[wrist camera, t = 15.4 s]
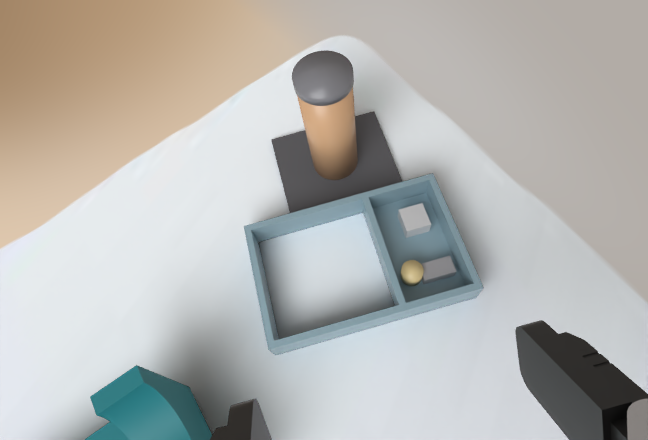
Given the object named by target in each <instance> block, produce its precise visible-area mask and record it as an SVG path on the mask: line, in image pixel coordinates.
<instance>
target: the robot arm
mask: <svg viewBox="0 0 648 440" xmlns="http://www.w3.org/2000/svg"><path fill="white" fill-rule="evenodd" d="M516 341H517V349H518V357H519V365H520V371H521V375H522V377H523V380H524V382H525V384H526V386H527V387H528V389H529V390H530V392H531V393H532V394H533V395H534V397H535V398H536V399H537V400H538V402H539V403H540V404H541V405H542V407H543V408H544V409H545V410H546V411H547V413H548V414H549V415H550V416H551V418H552V419H553V420H554V421H555V423H556V424H557V425H558V426H559V428H560V429H561V430H562V431H563V433H564V434H565V435H566V436H567V437H568V439H569V440H648V394H647V393H646V392H645V391H643V390H642V389H641V388H640V387H639V386H638V385H636V384H635V383H634V382H633V381H632V380H631V379H629V378H628V377H627V376H626V375H625V374H624V373H622V372H621V371H620V370H619V369H618V368H617V367H615V366H614V365H613V364H612V363H611V364H610V363H609V361H608V360H607V359H606V358H605V357H604V356H602V355H601V354H599V353H598V351H597V350H595V349H594V348H593V347H592V346H591V345H590V344H588V343H587V342H586V341H585V340H583V339H581V338H578V337H576V336H574V335H572V334H569V333H567V332H565V333H561V334H558V333H556V332H555V331H554V330H553V329H552V328H551V327H550V326H549V325H548V324H547V323H545V322H544V321H542V320H541V321H537V322H533V323H530V324H526V325H522V326H519V327H517V328H516ZM210 440H272V439H271V436H270V433H269V431H268V428H267V425H266V422H265V420H264V417H263V414H262V411H261V409H260V406H259V403H258V401H257V400H256V399H253V400H249V401H246V402H242V403H238V404H235V405H232V406H231V407H230V411H229V418H228V425H227V426H224V427H220V428H217V429H216V430H215V432H214V433H213V435H212V437H211V438H210Z"/></svg>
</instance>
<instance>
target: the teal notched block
mask: <svg viewBox="0 0 648 440" xmlns="http://www.w3.org/2000/svg"><path fill="white" fill-rule="evenodd" d="M90 398H91V401H92V403H93V406H94V409H95V412H96V415H97V416H101V417H103V418H105V419H107V420H109V421H110V422H109V423H108V424H106V425H105V426H104V427H102V428H101V429H99V430H98V431H96V432H95V433H93V434H92V435H91V436H89V437H88V438H86V439H85V440H210V438H211V437H212V434H211V432H210V430H209V428H208V425H207V423H206V421H205V419H204V417H203V415H202V413H201V411H200V409H199V407H198V404H197V402H196V400H195V398H194V396H193V394H192V392H191V390H190V388H189V387H188V386H185V385H183V384H181V383H178V382H176V381H173V380H171V379H169V378H166V377H164V376H161V375H159V374H156V373H154V372H152V371H149V370H147V369H144V368H142V367H140V366H137V365H136V366H135V367H133V368H132V369H130V370H129V371H127V372H126V373H125V374H123V375H122V376H120V377H119V378H117V379H116V380H114V381H113V382H111V383H110V384H108V385H107V386H105V387H104V388H102V389H101V390H100V391H98V392H97V393H95V394H94V395H92V396H91V397H90Z"/></svg>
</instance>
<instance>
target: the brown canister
mask: <svg viewBox="0 0 648 440" xmlns="http://www.w3.org/2000/svg"><path fill="white" fill-rule="evenodd" d="M292 80H293V85H294V89H295V92H296V94H297V96H298V101H299V105H300V109H301V114H302V118H303V122H304V126H305V131H306V135H307V139H308V144H309V148H310V152H311V156H312V161H313V165H314V168H315V170H316V172H317V173H318V174H319V175H320V176H321V177H323V178H325V179H329V180H340V179H343V178H346V177H347V176H349V175H350V174H352V172H353V171H354V170H355V168H356V166H357V162H358V157H357V142H356V127H355V112H354V96H353V82H354V78H353V67H352V65H351V63H350V61H349V60H348V59H347V58H346V57H345V56H343V55H342V54H340V53H337V52H334V51H318V52H314V53H311V54H309V55H307V56H305V57H303V58H302V59H301V60H300V61H299V62H298V63H297V64H296V66H295V67H294V69H293V72H292Z"/></svg>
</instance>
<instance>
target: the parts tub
mask: <svg viewBox="0 0 648 440" xmlns="http://www.w3.org/2000/svg"><path fill="white" fill-rule="evenodd" d="M360 213H363V214H364V217H365V220H366V222H367V225H368V228H369V231H370V234H371V237H372V240H373V243H374V246H375V249H376V252H377V255H378V258H379V261H380V263H381V266H382V269H383V272H384V275H385V278H386V281H387V284H388V287H389V290H390V293H391V296H392V299H393V302H394V305H395V306H394V307H390V308H387V309H383V310H380V311H376V312H373V313H369V314H366V315H362V316H359V317H355V318H352V319H348V320H345V321H341V322H338V323H334V324H331V325H327V326H324V327H320V328H317V329H313V330H310V331H306V332H303V333H299V334H296V335H293V336H289V337H286V338H282V339H279V337H278V333H277V328H276V323H275V318H274V314H273V309H272V304H271V300H270V295H269V290H268V285H267V281H266V276H265V271H264V267H263V262H262V257H261V252H260V248H259V243H258V242H260V241H264V240H268V239H271V238H275V237H278V236H282V235H285V234H289V233H292V232H296V231H299V230H303V229H307V228H310V227H314V226H317V225H321V224H324V223H328V222H331V221H335V220H338V219H342V218H346V217H349V216H353V215H356V214H360ZM244 230H245V235H246V240H247V245H248V250H249V255H250V260H251V265H252V270H253V275H254V280H255V285H256V290H257V295H258V300H259V305H260V310H261V315H262V320H263V325H264V330H265V335H266V340H267V345H268V350H269V351H271V352H272V353H273V354H274V355H279V354H282V353H285V352H289V351H292V350H296V349H299V348H303V347H306V346H310V345H313V344H317V343H320V342H324V341H327V340H331V339H334V338H338V337H341V336H345V335H348V334H351V333H355V332H358V331H362V330H365V329H369V328H372V327H376V326H379V325H383V324H386V323H390V322H393V321H397V320H400V319H404V318H407V317H410V316H414V315H417V314H421V313H424V312H428V311H431V310H435V309H438V308H442V307H445V306H449V305H452V304H456V303H459V302H463V301H466V300H470V299H473V298H476V297H477V296H478V295H479V293H480V292H481V291H482V289H483V285H482V283H481V281H480V279H479V276H478V274H477V272H476V270H475V267H474V265H473V263H472V261H471V258H470V256H469V254H468V252H467V249H466V247H465V245H464V243H463V240H462V238H461V236H460V233H459V231H458V229H457V227H456V224H455V222H454V220H453V218H452V215H451V213H450V211H449V209H448V206H447V204H446V202H445V200H444V197H443V195H442V193H441V191H440V188H439V186H438V184H437V182H436V179H435V177H434V175H433V173H432V174H428V175H425V176H421V177H418V178H414V179H410V180H407V181H403V182H400V183H396V184H393V185H389V186H385V187H382V188H378V189H375V190H371V191H368V192H364V193H361V194H357V195H353V196H350V197H346V198H343V199H339V200H336V201H332V202H329V203H325V204H321V205H318V206H314V207H311V208H307V209H304V210H300V211H296V212H293V213H289V214H286V215H282V216H279V217H275V218H272V219H268V220H264V221H261V222H257V223H254V224H250V225H247V226H244Z"/></svg>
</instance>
